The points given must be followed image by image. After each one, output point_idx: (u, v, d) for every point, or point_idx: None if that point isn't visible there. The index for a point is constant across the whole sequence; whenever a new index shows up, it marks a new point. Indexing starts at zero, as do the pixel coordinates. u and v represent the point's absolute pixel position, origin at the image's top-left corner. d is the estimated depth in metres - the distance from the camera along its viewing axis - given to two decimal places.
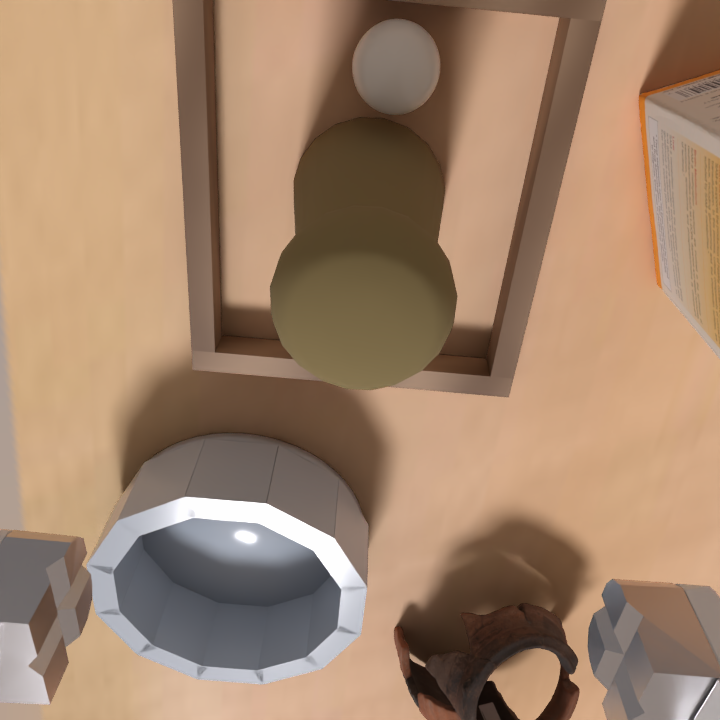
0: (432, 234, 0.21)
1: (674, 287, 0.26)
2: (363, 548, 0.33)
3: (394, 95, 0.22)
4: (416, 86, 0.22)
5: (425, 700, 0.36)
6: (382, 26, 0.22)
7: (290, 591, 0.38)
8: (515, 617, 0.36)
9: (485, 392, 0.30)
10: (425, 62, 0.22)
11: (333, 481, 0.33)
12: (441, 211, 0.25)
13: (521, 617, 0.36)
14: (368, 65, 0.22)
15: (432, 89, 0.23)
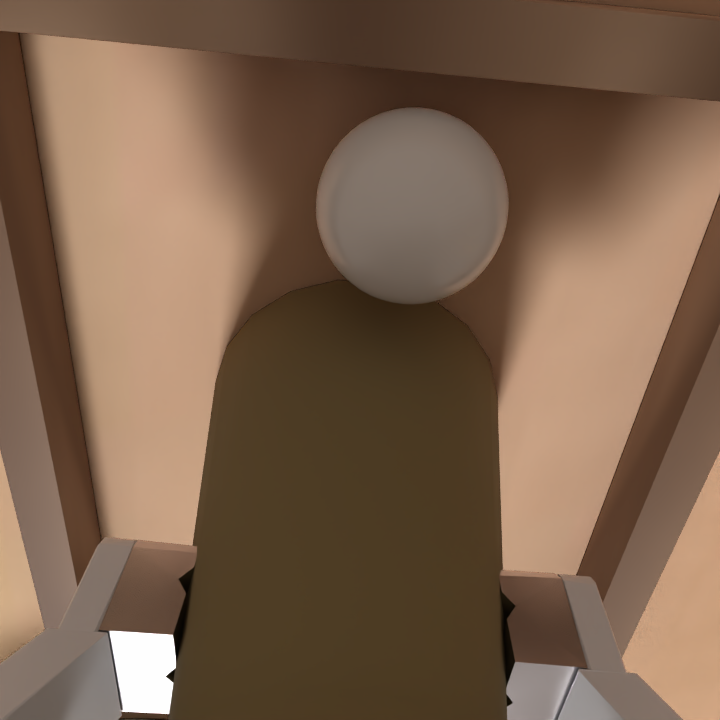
0: (499, 629, 0.09)
1: None
2: None
3: (408, 282, 0.10)
4: (458, 263, 0.10)
5: None
6: (381, 129, 0.09)
7: None
8: None
9: None
10: (480, 213, 0.09)
11: None
12: (498, 473, 0.12)
13: None
14: (350, 218, 0.09)
15: (491, 259, 0.10)
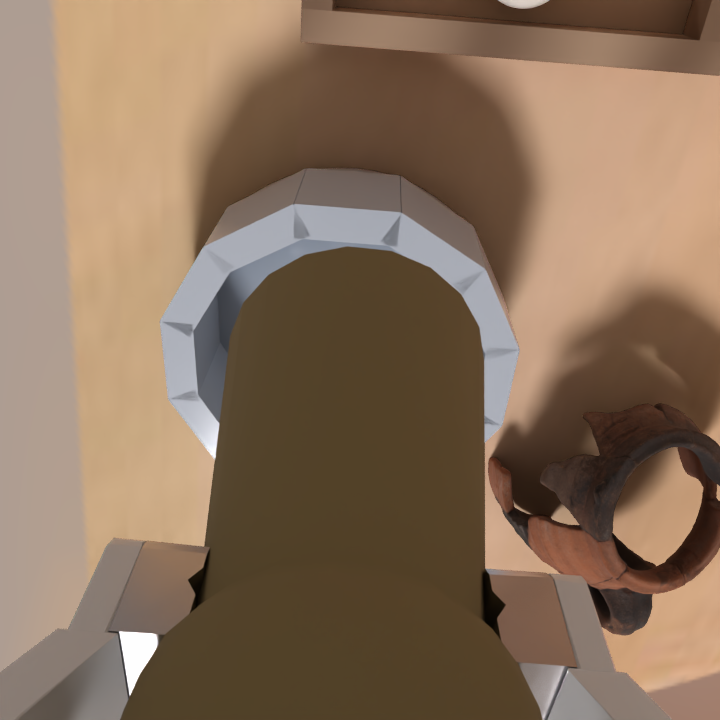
0: (481, 539, 0.10)
1: None
2: (507, 312, 0.26)
3: None
4: None
5: (541, 522, 0.29)
6: None
7: None
8: (653, 415, 0.28)
9: (688, 68, 0.22)
10: None
11: (468, 226, 0.26)
12: (483, 423, 0.14)
13: (660, 415, 0.28)
14: None
15: None
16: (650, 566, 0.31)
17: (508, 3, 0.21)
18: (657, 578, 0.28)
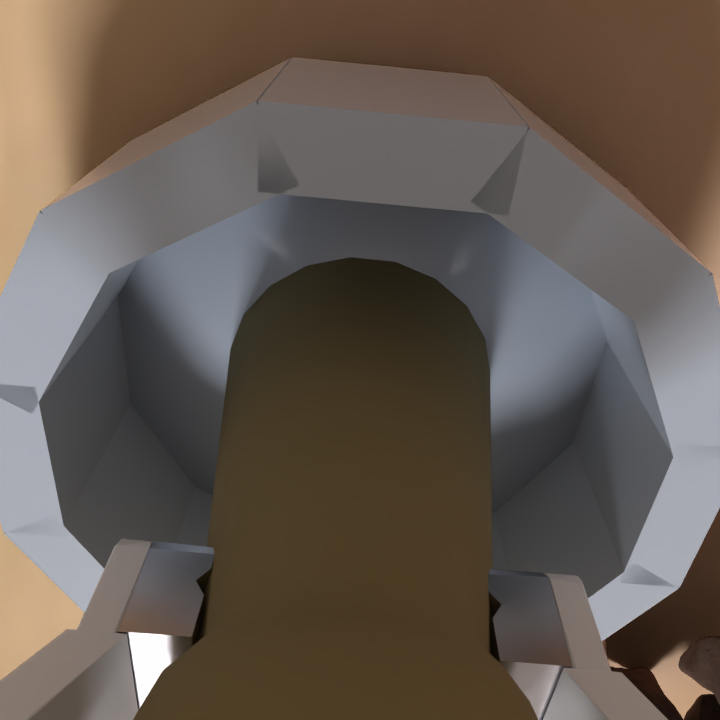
0: (489, 564, 0.10)
1: None
2: None
3: None
4: None
5: None
6: None
7: None
8: None
9: None
10: None
11: (622, 186, 0.13)
12: None
13: None
14: None
15: None
16: None
17: None
18: None
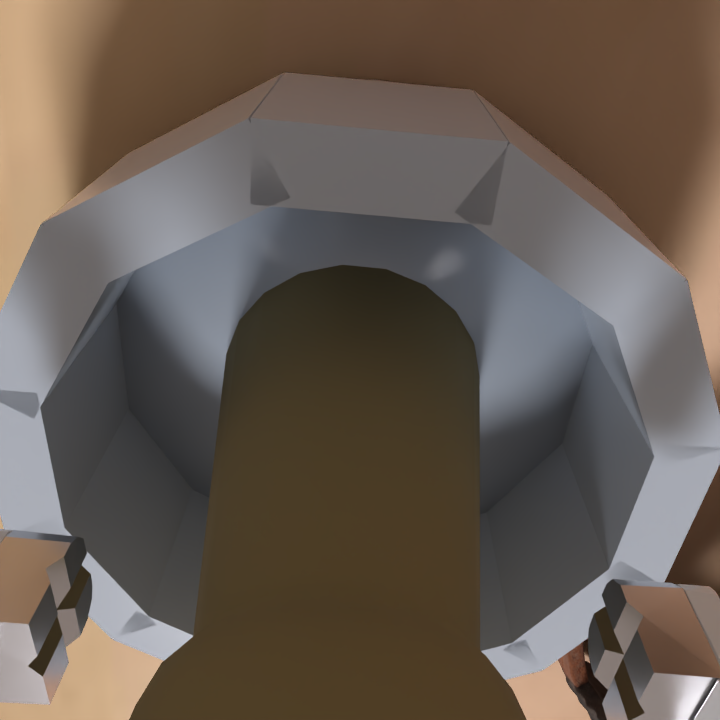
0: (476, 560, 0.11)
1: None
2: None
3: None
4: None
5: None
6: None
7: None
8: None
9: None
10: None
11: (604, 195, 0.13)
12: (478, 440, 0.14)
13: None
14: None
15: None
16: None
17: None
18: None
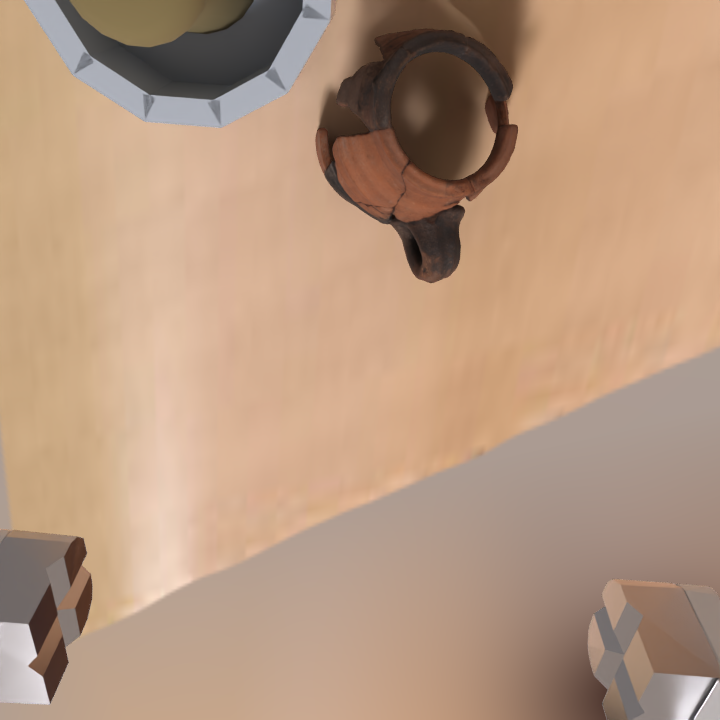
0: None
1: None
2: None
3: None
4: None
5: (338, 140, 0.31)
6: None
7: (253, 55, 0.33)
8: None
9: None
10: None
11: None
12: None
13: None
14: None
15: None
16: None
17: None
18: (443, 180, 0.30)
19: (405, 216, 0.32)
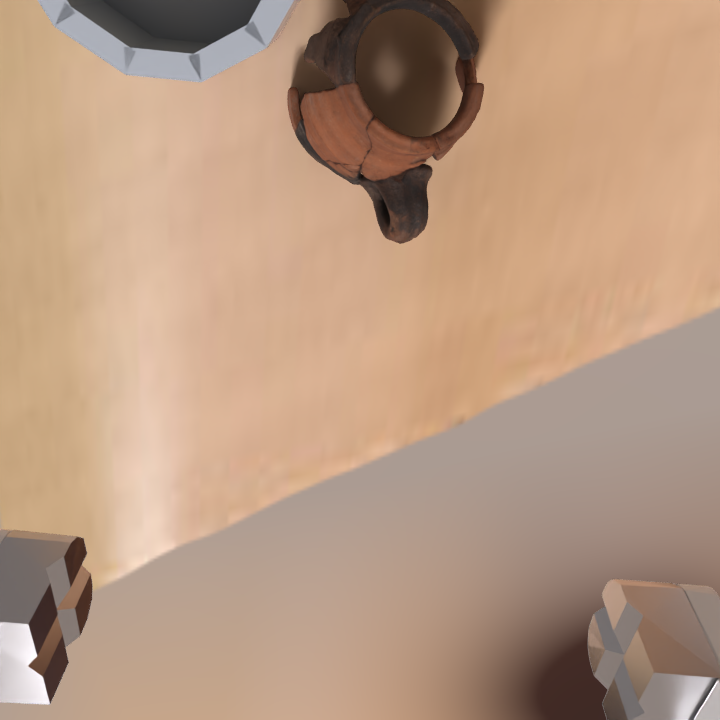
0: None
1: None
2: None
3: None
4: None
5: (306, 96, 0.31)
6: None
7: (235, 12, 0.34)
8: None
9: None
10: None
11: None
12: None
13: None
14: None
15: None
16: None
17: None
18: (408, 136, 0.31)
19: (372, 174, 0.33)
